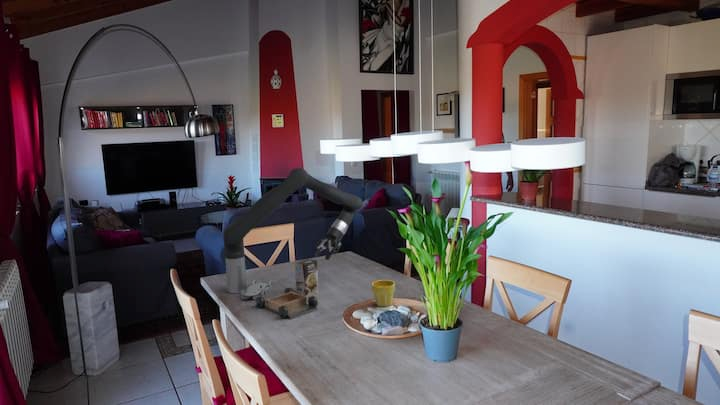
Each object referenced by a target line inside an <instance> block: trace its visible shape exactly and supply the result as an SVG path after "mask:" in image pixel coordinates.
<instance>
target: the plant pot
mask: <svg viewBox="0 0 720 405" xmlns="http://www.w3.org/2000/svg"><path fill="white" fill-rule="evenodd" d="M395 291H396V283H395V282H394V281H393V280H390V279H380V280H375V281H373V282H372V283H371V292H372V293H373V295H374V298H375V299H374V300H375V303H376V306H377V307H379V306H380V307H381V306H388V307H390V306H392V304H393V298H394V293H395ZM381 308H382V307H381Z"/></svg>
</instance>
